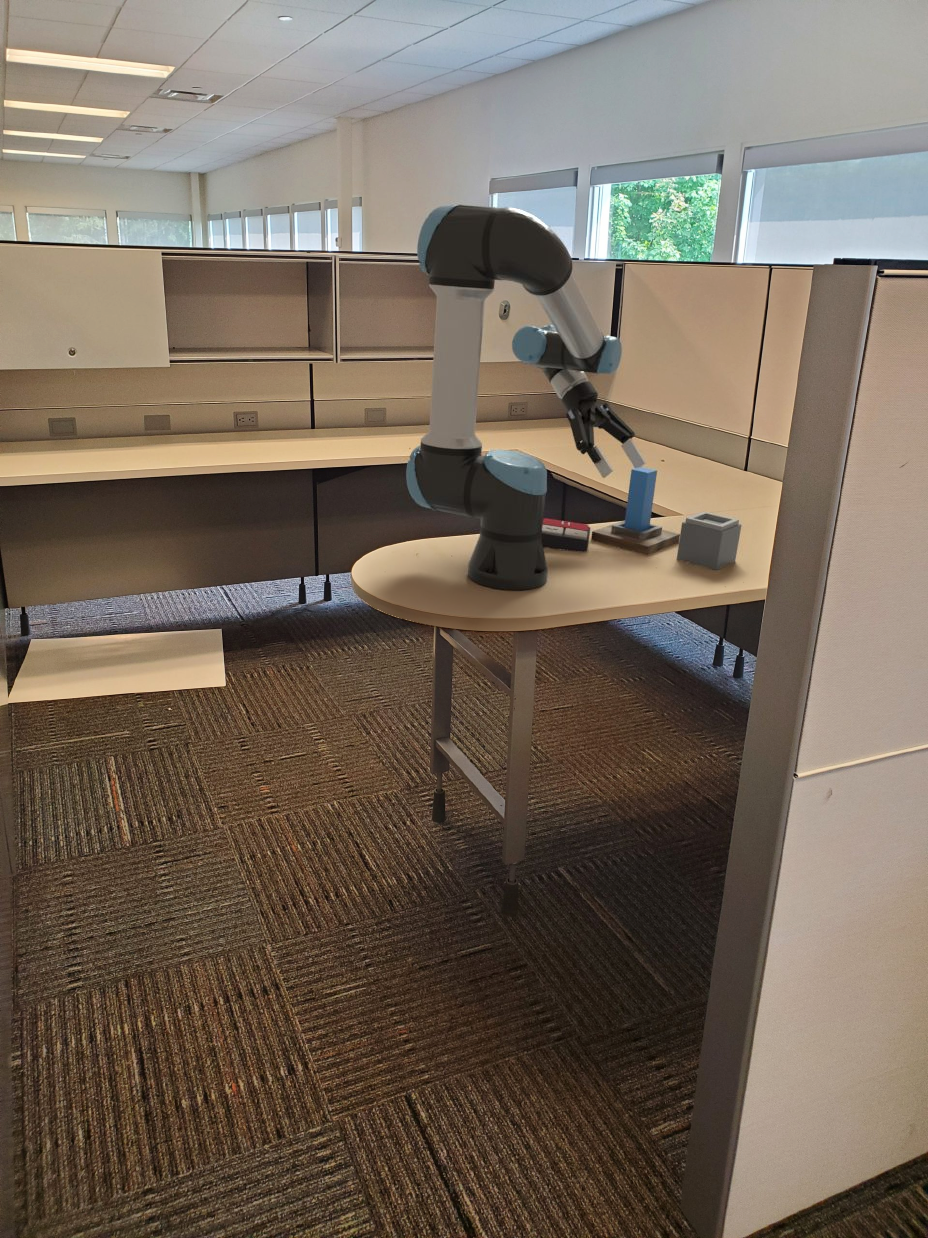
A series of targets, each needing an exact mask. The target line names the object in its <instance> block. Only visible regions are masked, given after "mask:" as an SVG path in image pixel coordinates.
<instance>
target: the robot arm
mask: <svg viewBox="0 0 928 1238" xmlns="http://www.w3.org/2000/svg"><path fill="white" fill-rule="evenodd" d="M417 239H418V241H417V247H416V250H417V253H416V254H417V261H418V262H419V267H420V269H421V271H422V272H423V273H424V274H426V275H428V276H429V280H428V281H429V282H428V283H429V284H428V286H429V288H430V289H431V290H432V292H433V293H434V294H435V296H436V307H435V308H436V309H435V322H434V323H435V324H434V325H435V326H434V327H435V328H434V339H433V340H434V342H433V359H432V360H433V361H432V376H431V378H432V380H431V394H430V409H429V410H430V411H429V418H430V419H429V430H428V432H426V434H424V435H423V436H422V437H421V438H420V445H418V446H416V447H415V448H413V450H412V451H411V453H410V455H409V460H408V461H407V464H406V471H405V472H406V473H405V476H406V485H407V489H408V492H409V494H410V497H411V498H412V499H413V500H414V503H416V504H417V505H419V506H421V507H423V508H426V509H431V510H432V511H435V512H444V513H450V514H454V515H460V516H464V517H471V518H475V519H480V528H479V537H478V540H477V542H476V544H475V547H474V549H473V552H472V554H471V557H470V559H469V562H468V566H467V567H468V569H467V572H468V573H467V575H468V578H469V579H470V580H471V581H473V582H475V583H477V584H478V585H482V586H485V587H489V588H493V589H499V590H508V591H510V590H511V591H519V590H520V591H521V590H522V591H523V590H524V591H525V590H530V589H536V588H538V587H542V586H543V585H545V584H546V582H547V579H548V571H549V570H548V564H547V560H546V556H545V551H544V547H543V546H542V542H541V538H542V527H543V520H544V517H545V505H546V497H547V496H546V495H547V490H548V485H547V479H548V477H547V476H548V475H547V474H548V471H547V468H546V466H545V464H544V463H543V462H542V461H541V460H540V459H538V458H537V457H534V456H533V455H529V454H527V453H523V452H520V451H515V450H506V449H501V448H500V449H498V448H497V449H492V450H488V451H487V452H486V453H485V455H482V453H483V452H482V450H483V442H482V441H481V440H480V438H478V437H477V435H476V424H477V421H476V420H477V411H478V410H477V409H478V397H479V395H478V393H479V385H480V383H479V381H480V370H481V369H480V368H481V354H482V342H483V328H484V327H483V326H484V315H485V303H486V300H487V298H489V296H491V294H492V293H493V292H494V291H495V281H506V282H507V281H509V282H514V283H517V284H520V285H522V287H523V289H525V291H526V292H527V293H529V294H530V295H532V296H535V297H536V299H537V301H538V302H539V303H540V305H541V307H542V309H543V310H544V312H545V314H546V316H547V317H548V319H549V320H550V322H551V324H548V325H543V326H541V327H539V326H534V325H526V326H523V327H521V328H519V329H518V330H517V331H516V332H515V334H514V336H513V338H512V342H511V349H512V353H513V354H514V356H515V358H517V359H518V360H519V361H521V363H523V364H524V365H530V366H533V367H536V368H538V369H540V370H541V371H542V372H543V374H544V375H545V377H546V378H547V380H548V382H549V384H550V385H551V386H552V388H553V391H554V392H555V393H556V395H557V397H558V398H559V399H561V403H562V404H563V406H564V407H565V409H566V411H567V412H566V414H565V416H566V418H567V420H568V422H569V424H570V428H571V432H572V433H571V434H572V436H573V440H574V444H575V447H576V450H577V451H579V452H580V454H582V455H585V454H586V453H587V456H588V457H589V458H590V459H591V462H592V463H593V465H594V467H595V468H596V469H597V471H598V472H599V474H600V476H601V477H602V479H605V478H606V477H608V476H609V475H610V474H611V473H613V471H614V469H613V468H612V466H611V464H610V463H609V461H608V460H607V458H606V456H605V454H604V453H603V451H602V449H601V448H600V446H599V444H596V445H595V432H594V428H598V429H599V430H603V431H604V432H607V433H608V434H609V435H610V436H612V437H613V438H614V439H616V440H617V442H619V443H621V445H620V446H621V448H622V450H623V452H624V453H625V454H626V456H627V458H628V460H629V461H630V462H631V464H632V466H633V468H634V469H635V468H639V467H643V466H644V465H645V464H647V461H646V459H645V457H644V456H643V455H642V453H641V451H640V450H639V449H638V447H637V445H636V444H635V442H634V441H633V438H634V437H635V435H636V434H635V431H633V429H632V428H630V427H629V425H628V424H626V423H625V422H624V420H623V419H622V418H621V417H619V416H618V415H617V414H616V412H615V411H613V410H612V408H611V407H610V405H609V404H608V403H607V402H604V403H603V404H602V405H600V404H599V403H598V402H597V399H598V396H599V392H598V391H597V390H596V388H595V386H594V385H593V384H592V381H589V378H588V376H587V374H586V373H592V374H596V375H599V374H604V375H605V374H606V375H611V374H613V373H615V372H616V371H617V370H618V368H619V366H620V363H621V359H622V353H623V352H622V349H623V347H622V342H621V340H620V339H619V338H618V337H616V336H611V335H610V334H608V335H604V334H603V332H602V330H601V328H600V326H599V324H598V323H597V320H596V318H595V316H594V314H593V312H592V310H591V308H590V306H589V304H588V302H587V300H586V298H585V296H584V294H583V292H582V289H581V288H580V286H579V284H578V282H577V280H576V279H575V278H576V277H575V276H574V274H573V271H574V270H573V269H574V263H573V259H572V256H571V254H570V253H569V250H568V248H567V247H566V246H565V244H564V242H563V240H562V239H561V238H560V237H559V236H558V235H557V234H556V233H555V231H553V230H552V229H551V228H550V226H548V225H547V224H546V223H544V222H543V221H542V220H541V219H539V217H536V216H535V215H533V214H531V213H529V212H528V211H525V210H523V209H519V208H517V207H516V208H515V207H499V206H497V207H495V206H493V207H492V206H481V205H480V206H479V205H466V204H464V205H463V204H453V205H452V204H450V205H441V206H438V207H436V208H435V209H433V210H431V212H430V213H429V214H428V216H427V217H426V218H425V220H424V221H423V224H422V226H421V228H420V231H419V235H418V238H417Z"/></svg>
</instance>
